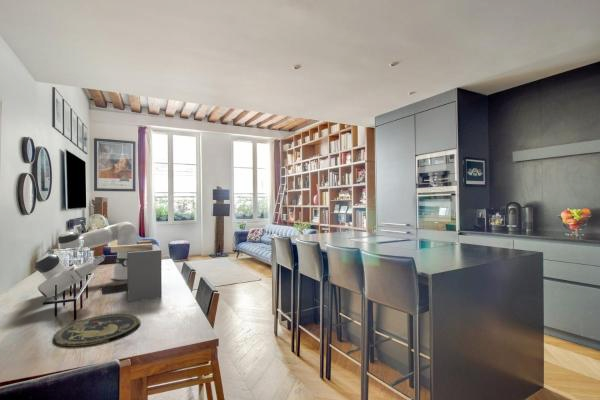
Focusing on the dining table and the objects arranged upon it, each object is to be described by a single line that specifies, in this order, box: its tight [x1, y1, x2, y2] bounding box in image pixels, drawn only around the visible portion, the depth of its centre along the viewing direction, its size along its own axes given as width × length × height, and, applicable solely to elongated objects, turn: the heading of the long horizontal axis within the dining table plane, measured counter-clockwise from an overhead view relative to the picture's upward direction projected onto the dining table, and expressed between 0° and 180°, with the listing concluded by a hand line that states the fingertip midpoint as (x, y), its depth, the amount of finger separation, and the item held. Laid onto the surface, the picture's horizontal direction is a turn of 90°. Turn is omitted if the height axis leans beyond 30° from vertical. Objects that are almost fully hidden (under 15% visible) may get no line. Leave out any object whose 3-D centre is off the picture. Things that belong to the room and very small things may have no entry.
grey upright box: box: [126, 244, 163, 303], centre depth 179 cm, size 28×16×26 cm, turn 30°
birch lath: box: [110, 242, 154, 254], centre depth 170 cm, size 4×20×3 cm, turn 120°
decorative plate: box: [52, 313, 141, 348], centre depth 127 cm, size 30×2×30 cm
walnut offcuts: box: [136, 239, 153, 244], centre depth 180 cm, size 6×8×4 cm
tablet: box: [100, 282, 128, 296], centre depth 193 cm, size 27×1×20 cm
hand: (104, 256), depth 163 cm, fingers open, 8 cm apart
